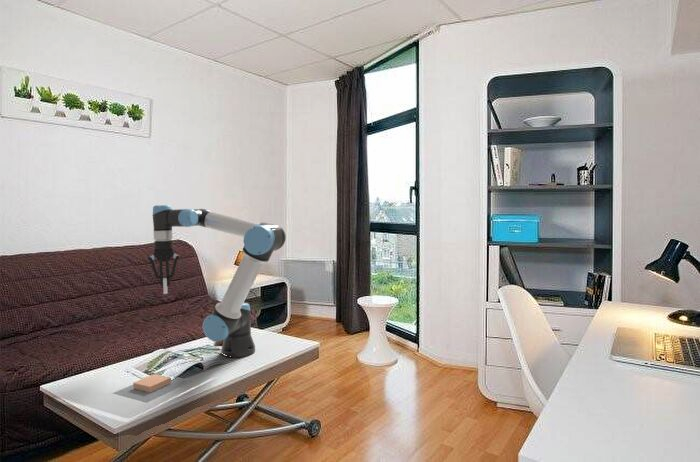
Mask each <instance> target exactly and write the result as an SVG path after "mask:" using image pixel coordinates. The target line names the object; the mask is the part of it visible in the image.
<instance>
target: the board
mask: <svg viewBox="0 0 700 462" xmlns="http://www.w3.org/2000/svg"><path fill="white" fill-rule="evenodd" d="M176 377H177V378H176V379H174V380H172V381H171V383H170V384H169V385H167V386H164V387H162V388H160V389H158V390H156V391H154V392H151V393H149V392H145V391H141V390H137V389H134V388H133V384H130V385H129V386H126V387H124V388H122V389H119V390H117V391H115V392H113V394H115V395H118V396H122V397H125V398H129V399H131V400H136V401H139V402H144V403H149V402H151V401H153V400H155V399H158V398H159V397H162V396H163V395H166V394H168V393H171V392H172V391H174V390H176V389H178V388H180V387H182V386H185V385H187V384H188V383H191V382H193V380H191V379H187V378H183V377H178V376H176Z"/></svg>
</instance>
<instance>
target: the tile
mask: <svg viewBox="0 0 700 462" xmlns="http://www.w3.org/2000/svg"><path fill="white" fill-rule="evenodd" d="M170 383H171V378H170V377H165V376H161V375H157V374H155V373H153V374H151V375H149V376H146V377H144V378H141V379H139V380H137V381H135V382H133V383H132V385H133V388H134V389H137V390H141V391H145V392H149V393H151V392H154V391H156V390H158V389H160V388H162V387H164V386H167V385H169V384H170Z"/></svg>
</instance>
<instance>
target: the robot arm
mask: <svg viewBox="0 0 700 462" xmlns="http://www.w3.org/2000/svg"><path fill="white" fill-rule="evenodd" d="M152 223H153V240H154V242H153V247H154V249H153V250H154V251H153V253H152V255H150V256H148V257H147V260H148V261H149V263H151V266H152V270H153V273H154V276H155V278H156V279H159V284H160V287H163V288H162V289H163V295H166V294H167V295H168V286H169V287H170V286H171V285H170V284H171V278H173V277H174V276H175V272H176V267H177V263H178V260H179V258H180V254H176V253H175V251H174V244H173V242H174V241H173V228H174V227H179V228H180V227H183V228H188V227H189V228H190V227H196V226H199V227H203V228H206V229H207V228H208V229H211V230H216V231H218V232H223V233H228V234H230V235H234V236H237V237H241V238H243V244H244V246H243V248H242V252H243V257H242V258H241V260H240V262H239V264H238V267H237V269H236V271H235V273H234V275H233V277H232V280H231V282H230V283H229V285H228V287H227V289H226V292H225V293H224V296H223V298H222V300H221V302H217V303H216V304H215V306H214V308H213V310H212V311H211V312H212V313H211V314H209V315H207V316H206V317H205V318H204V320H203V322H202V331H203V333H204V335H205V337H206V338H207V339H208V340H210V341H212V342H216V343H217V342H219V341H222V340H224V342H223V344H222V346H221V350H220V351H221V352H222V353H223V354H225V355H227V356H231V357H236V359H237V358H242V357H244V358H245V357H248V356H250V355H253V354H254V353H256V345H255V342H254V340H253V336H252V333H251V331H252V327H251V324H252V323H251V306H250V304H249V302H245V300H246V298H247V297H248V295H249V293H250V290H251V289H252V286H253V285H254V282H255V281H256V279H257V277H258V274H259V273H260V270H261V268H262V267H263V264H265V263H268V262H269V261H270V259H271V256H272V254H273V252H275V251H278V250H280V249H281V248H282V247H283V246H284V245H285V243H286V239H287V237H286V236H287V235H286V231H285V230H284V229H283V227H281V226H280V225H278V224H274V223H267V222H263V221H262V222H260V223H258V222H254V221H250V220H246V219H242V218H238V217H233V216H229V215H226V214H221V213H217V212H213V211H210V210H208V209H205V208H196V209H195V208H194V209H192V208H191V209H190V208H184V209H183V208H181V209H180V208H179V209H173V208H172V206H171V205H170V204H165V205H164V204H163V205H162V204H161V205H160V204H159V205H157V204H156V205H154V206H152ZM172 258H173V259H174V260H173V264H172V267H171V273H170V260H171V259H172ZM155 259H156V260H157V261H158V262H159V271H158V268H157V265H156V262H155ZM164 262H165V274H166V277H165V278H164V266H163V265H164ZM221 352H220V353H221Z"/></svg>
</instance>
